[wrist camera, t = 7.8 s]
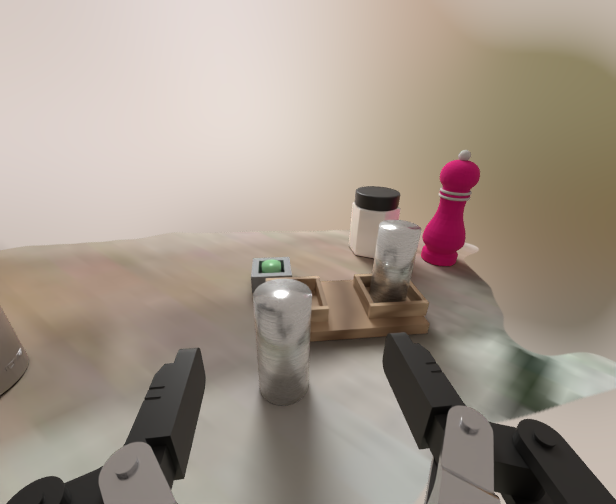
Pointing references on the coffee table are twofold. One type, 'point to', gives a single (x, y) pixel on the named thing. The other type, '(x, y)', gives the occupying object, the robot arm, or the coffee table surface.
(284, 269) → the grey square box
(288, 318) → the cylinder
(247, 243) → the coffee table surface
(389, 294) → the seated billet
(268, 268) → the button
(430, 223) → the pepper mill
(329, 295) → the wooden tray
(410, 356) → the robot arm
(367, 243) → the jar
